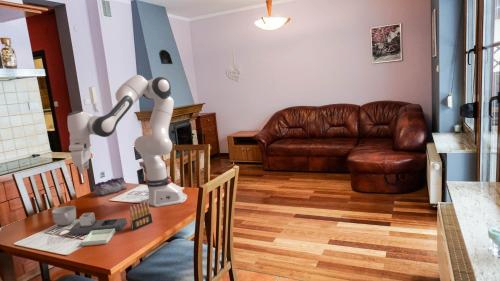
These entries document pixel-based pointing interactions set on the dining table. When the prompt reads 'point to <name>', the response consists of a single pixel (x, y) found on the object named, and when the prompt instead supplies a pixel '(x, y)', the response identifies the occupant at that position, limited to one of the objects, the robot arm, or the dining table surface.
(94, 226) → the rail
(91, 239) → the tray
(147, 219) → the ammunition clip
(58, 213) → the teacup
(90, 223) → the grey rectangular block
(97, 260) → the dining table surface
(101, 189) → the geode
